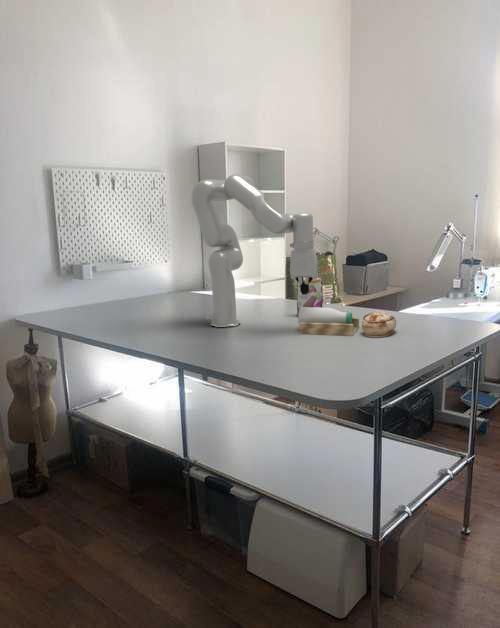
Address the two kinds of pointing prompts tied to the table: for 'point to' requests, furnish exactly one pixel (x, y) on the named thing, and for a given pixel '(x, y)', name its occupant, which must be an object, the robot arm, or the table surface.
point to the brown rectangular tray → (330, 328)
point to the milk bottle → (323, 315)
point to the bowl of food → (378, 324)
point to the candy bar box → (310, 295)
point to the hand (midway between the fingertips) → (304, 294)
